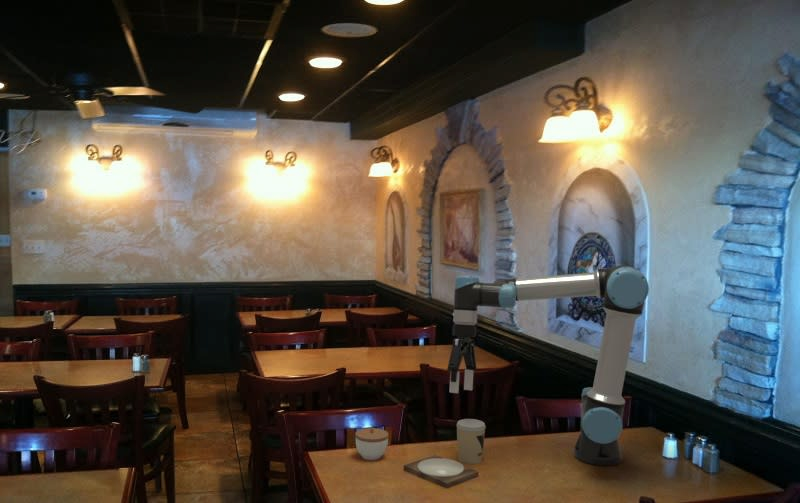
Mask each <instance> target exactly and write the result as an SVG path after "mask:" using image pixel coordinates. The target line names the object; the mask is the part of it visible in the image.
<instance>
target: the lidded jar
mask: <svg viewBox="0 0 800 503" xmlns="http://www.w3.org/2000/svg"><path fill="white" fill-rule="evenodd" d="M354 435H355V447H356V450H357V452H358V454H359V455H360V456H361V457H362V459H364V460H367V461H376V460H379V459H381V457H382V456H383V455H385V453H386V451H387V449H388V443H389V432H388V431H387V430H385V429H382V428H376V427H375V428H374V427H368V428H360V429H359V430H356V432H355V434H354Z"/></svg>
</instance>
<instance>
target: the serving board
mask: <svg viewBox="0 0 800 503" xmlns="http://www.w3.org/2000/svg"><path fill="white" fill-rule="evenodd" d="M403 471H404V472H407V473H409V474H412V475H414V476H417V477H419V478H422V479H423V480H426V481H428V482H431V483H433V484H436V485H438V486H440V487H443V488H445V489H449V488H452V487H455V486H456V485H459V484H462V483H465V482H467V481H469V480H472V479H475V478H477V477H479V471H478V470H475V469H473V468H471V467H468V466H465V465H464V464H462V462H460V461H456V460H454V459H451V458H443V457H442V456H438V455H436V454H435V455H430V456H429V457H425V458H423V459H422V458H421V459H419V460H416V461H413V462H410V463H406V464H404V465H403Z"/></svg>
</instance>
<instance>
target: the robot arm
mask: <svg viewBox="0 0 800 503" xmlns="http://www.w3.org/2000/svg"><path fill="white" fill-rule="evenodd" d="M454 284H455V285H454V286H455V287H454V298H453V301H454V302H453V313H452V316H453V319H452V321H453V323H454V324H453V325H452V334H451V335H452V336H453V337H456V338H453V339H452V346H451V351H450V356H449V358H448V359H449V360H448V364H447V372H448V371H449V373H450V375H449V393H451V394H459V389H460V387H459V386H460V371H459V370H460V367H461V363H462V360H464V365H465V369H464V377H463V378H464V379H463V381H464V382H463V391H473V389H474V371H476V370H477V362H476V353H475V339H473V338H475V337H476V336H477V326H476V325H475V324H477V323H478V307H488V308H489V307H491V308H503V309H508V308H514V307H515V306H516V302H519V301H535V300H536V301H537V300H549V299H551V300H552V299H564V298H565V299H566V298H567V299H568V298H580V297H594V296H595V297H597V298H598V299H603V302H602V309H603V311H604V312H605V313H606V315H605V320H604V326H603V332H602V337H601V342H600V348H599V353H598V357H597V363H596V369H595V373H594V374H595V375H594V380H593V384H592V385H593V386H592V387H591V386H590V387H589V386H588V387H584V388H582V392H581V410H580V431H579V432H580V433H579V435H578V438H577V440H576V443H575V445H574V448H573V456H574V457H575V458H576V460H578V461H580V462H583V463H587V464H590V465H595V466H607V467H608V466H616V465H618V464H620V463H621V462H622V458H623V455H622V454H623V453H622V450H621V446H620V443H619V439H618V438H620V435H621V433H622V431H623V428H624V427H623V426H624V425H623V416H624V410H625V405H626V404H625V403H626V399H624V397H623V396H622V393H623V388H624V382H625V377H626V371H627V366H628V362H629V356H630V351H631V345H632V340H633V335H634V330H635V325H636V320H637V318H639V317H641V316H642V315H643V311H644V310H643V309H644V305H645V301H646V299H647V298H648V296H649V291H650V289H649V288H650V286H649V282H648V279H647V277H646V276H645V275H644V273H643V272H641V270H640V269H639V270H638V269H637V268H636V267H634V266H632V265H628V264H620V265H616V266H613V267H612V266H611V267H606V268H596V269H595V271H593V272H585V273H581V272H580V273H570V274H559V275H558V274H557V275H556V274H555V275H546V276H544V275H543V276H531V277H518V278H508V279H507V278H499V279H497V280H495V281H494V282H493V283H492V282H481V281H480V280H479V276H475V275H458V276H456V278H455V283H454Z"/></svg>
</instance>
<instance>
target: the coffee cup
mask: <svg viewBox="0 0 800 503" xmlns="http://www.w3.org/2000/svg"><path fill="white" fill-rule="evenodd" d="M486 428H487V427H486V424H485V422H484V421H482V420H479V419H476V418H464V419H463V418H462V419H459V420H458V421H457V423H456V439H457V442H456V443H457V459H458V462H460V463H463V464H469V465H472V464H474V465H475V464H479V463H481V462H482V460H483V453H484V452H483V451H484V443H485V436H486V435H485V433H486Z"/></svg>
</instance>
